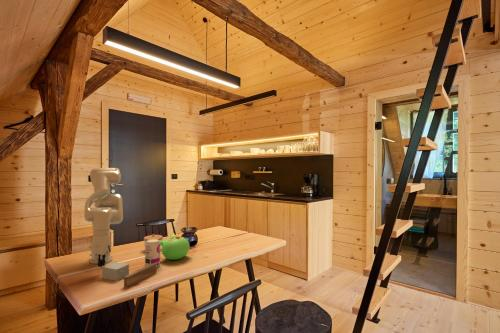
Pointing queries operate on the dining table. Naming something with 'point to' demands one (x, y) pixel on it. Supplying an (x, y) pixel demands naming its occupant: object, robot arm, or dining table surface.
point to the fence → (139, 275)
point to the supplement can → (152, 252)
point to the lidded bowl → (153, 238)
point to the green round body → (175, 247)
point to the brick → (115, 271)
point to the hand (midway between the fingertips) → (101, 266)
